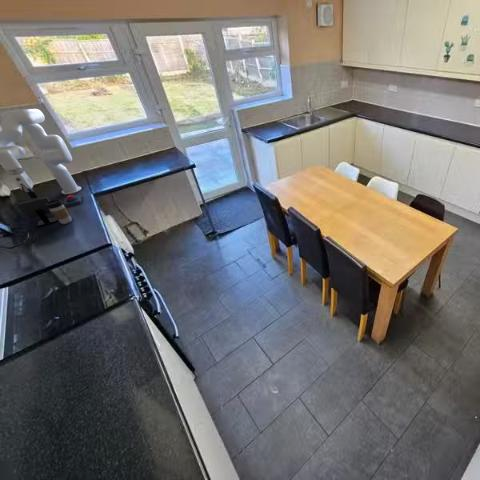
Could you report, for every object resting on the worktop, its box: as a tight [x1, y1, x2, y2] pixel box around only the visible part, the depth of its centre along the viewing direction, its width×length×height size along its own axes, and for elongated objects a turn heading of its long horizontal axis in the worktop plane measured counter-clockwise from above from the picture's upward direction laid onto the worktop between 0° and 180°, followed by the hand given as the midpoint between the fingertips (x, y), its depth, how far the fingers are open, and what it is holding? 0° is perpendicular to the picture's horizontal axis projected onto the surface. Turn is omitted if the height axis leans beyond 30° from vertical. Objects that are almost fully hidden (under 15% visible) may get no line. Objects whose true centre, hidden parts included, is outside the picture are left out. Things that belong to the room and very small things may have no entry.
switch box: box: [63, 194, 82, 208], centre depth 200 cm, size 11×9×4 cm
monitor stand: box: [35, 209, 59, 228], centre depth 176 cm, size 7×10×10 cm
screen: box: [17, 196, 52, 219], centre depth 173 cm, size 2×14×10 cm, turn 124°
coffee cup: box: [46, 199, 73, 225], centre depth 175 cm, size 8×8×15 cm
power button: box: [66, 194, 74, 199], centre depth 198 cm, size 4×4×2 cm
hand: (34, 197), depth 175 cm, fingers closed
